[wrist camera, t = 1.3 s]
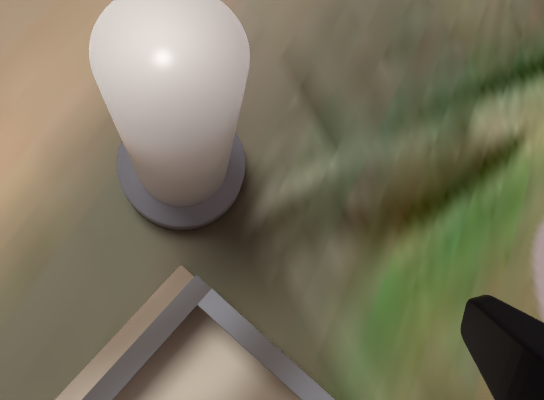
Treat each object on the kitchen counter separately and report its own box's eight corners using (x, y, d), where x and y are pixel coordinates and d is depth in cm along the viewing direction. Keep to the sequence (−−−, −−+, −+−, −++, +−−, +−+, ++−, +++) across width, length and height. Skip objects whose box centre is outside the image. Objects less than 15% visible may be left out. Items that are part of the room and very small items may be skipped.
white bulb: (266, 169, 23) (322, 54, 13) (185, 255, 22) (175, 204, 11) (181, 94, 24) (167, -81, 13) (95, 173, 22) (3, 49, 12)
